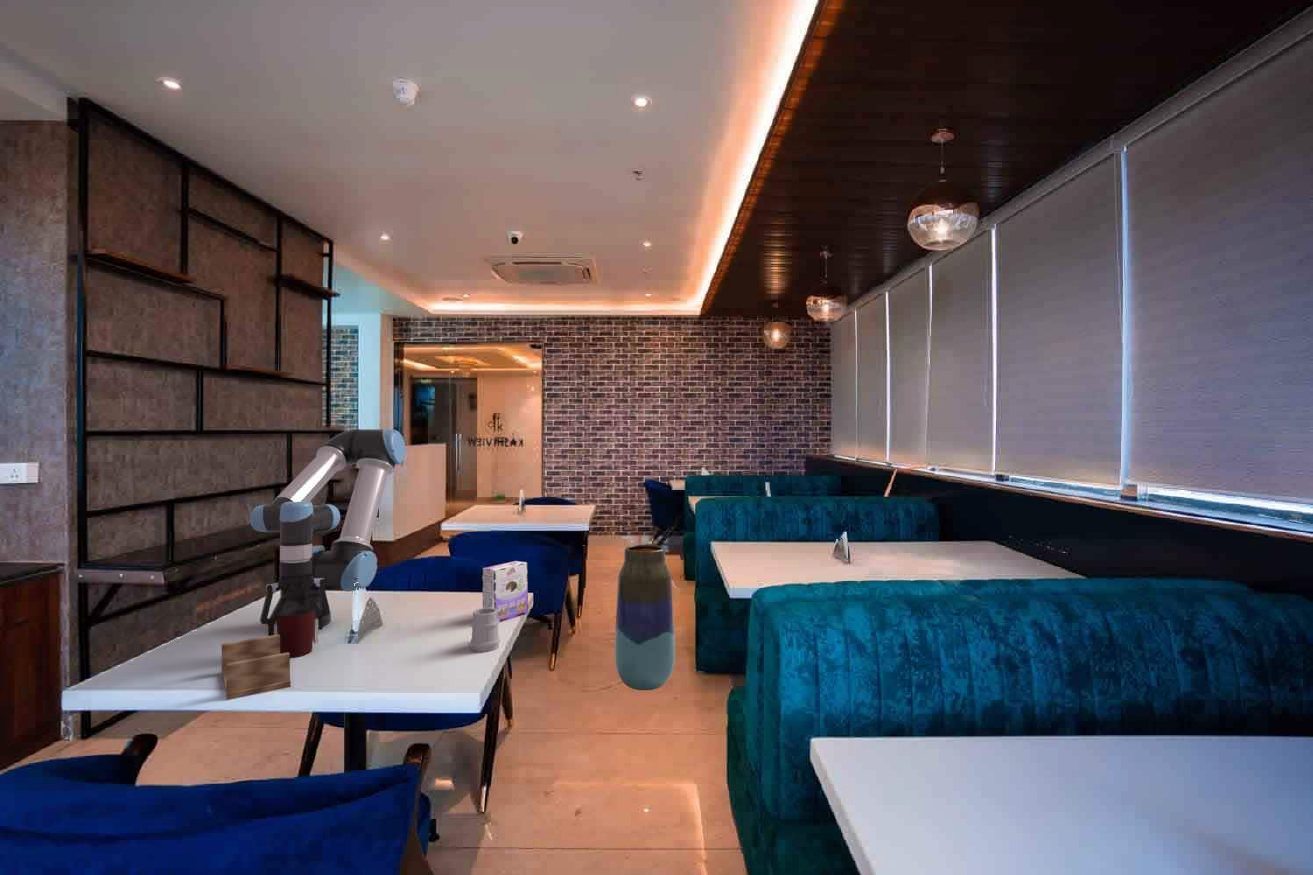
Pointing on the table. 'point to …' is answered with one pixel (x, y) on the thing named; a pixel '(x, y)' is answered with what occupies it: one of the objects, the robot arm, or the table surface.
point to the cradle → (254, 666)
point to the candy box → (506, 589)
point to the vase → (644, 619)
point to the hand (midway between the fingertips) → (295, 645)
